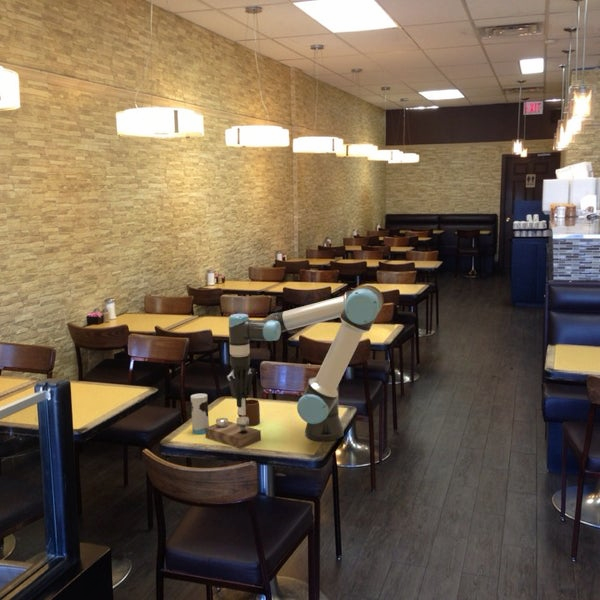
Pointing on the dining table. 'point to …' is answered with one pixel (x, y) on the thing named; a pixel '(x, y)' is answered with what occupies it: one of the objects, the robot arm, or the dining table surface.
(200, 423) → the cup
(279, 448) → the dining table surface
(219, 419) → the far knob
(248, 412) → the mug
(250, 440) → the mount block
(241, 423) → the near knob
